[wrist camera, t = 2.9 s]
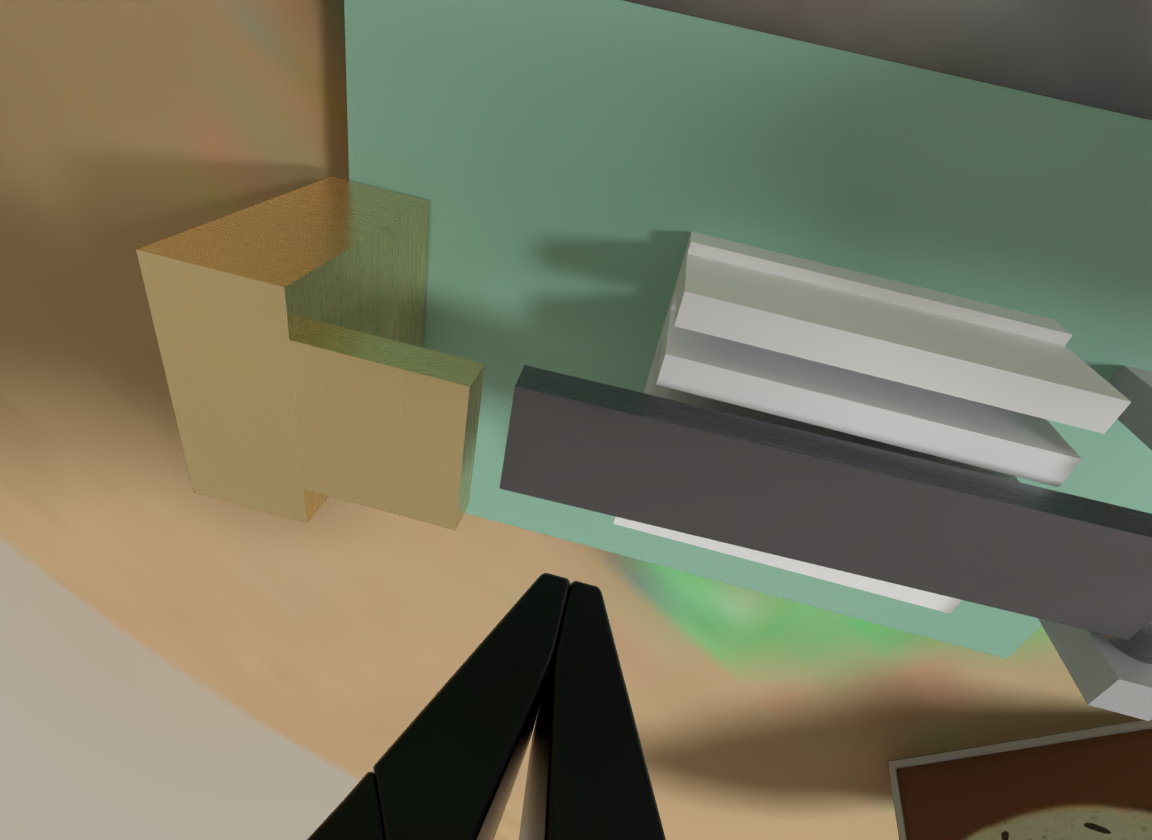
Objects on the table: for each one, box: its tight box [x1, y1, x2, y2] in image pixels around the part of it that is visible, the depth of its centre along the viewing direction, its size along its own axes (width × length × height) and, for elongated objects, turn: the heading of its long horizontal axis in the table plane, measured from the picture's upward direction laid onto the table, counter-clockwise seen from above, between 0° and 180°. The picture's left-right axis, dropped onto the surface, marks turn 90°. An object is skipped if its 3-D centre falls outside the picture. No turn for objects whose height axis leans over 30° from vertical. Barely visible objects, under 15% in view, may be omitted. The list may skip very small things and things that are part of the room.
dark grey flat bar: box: [499, 365, 1152, 664], centre depth 11 cm, size 14×3×1 cm, turn 80°
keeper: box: [136, 176, 485, 530], centre depth 13 cm, size 5×5×6 cm
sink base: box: [344, 0, 1152, 721], centre depth 13 cm, size 21×14×6 cm, turn 80°
